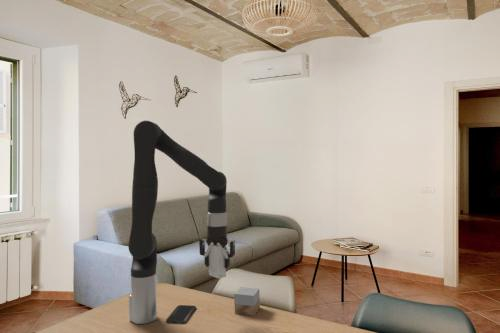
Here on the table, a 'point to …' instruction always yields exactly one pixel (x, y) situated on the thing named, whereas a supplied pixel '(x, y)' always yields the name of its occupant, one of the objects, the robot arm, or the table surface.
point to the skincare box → (217, 262)
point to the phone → (181, 314)
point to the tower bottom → (247, 309)
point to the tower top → (246, 296)
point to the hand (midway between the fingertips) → (217, 267)
